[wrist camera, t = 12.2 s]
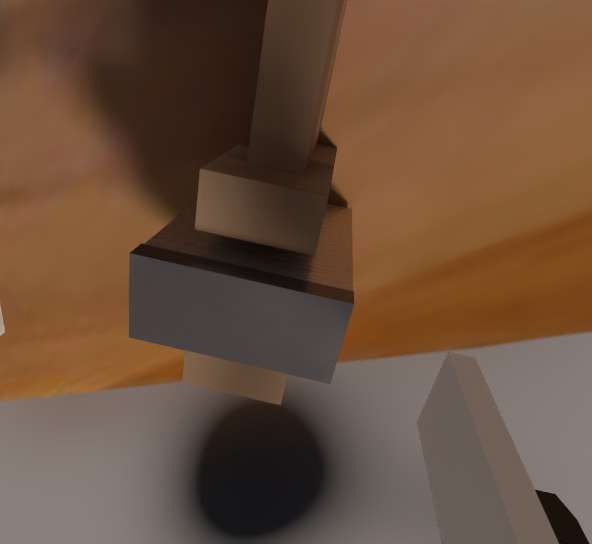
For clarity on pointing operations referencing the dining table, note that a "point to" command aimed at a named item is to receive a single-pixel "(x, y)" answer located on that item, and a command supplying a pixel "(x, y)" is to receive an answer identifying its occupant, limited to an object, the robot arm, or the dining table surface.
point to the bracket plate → (245, 296)
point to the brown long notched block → (274, 167)
